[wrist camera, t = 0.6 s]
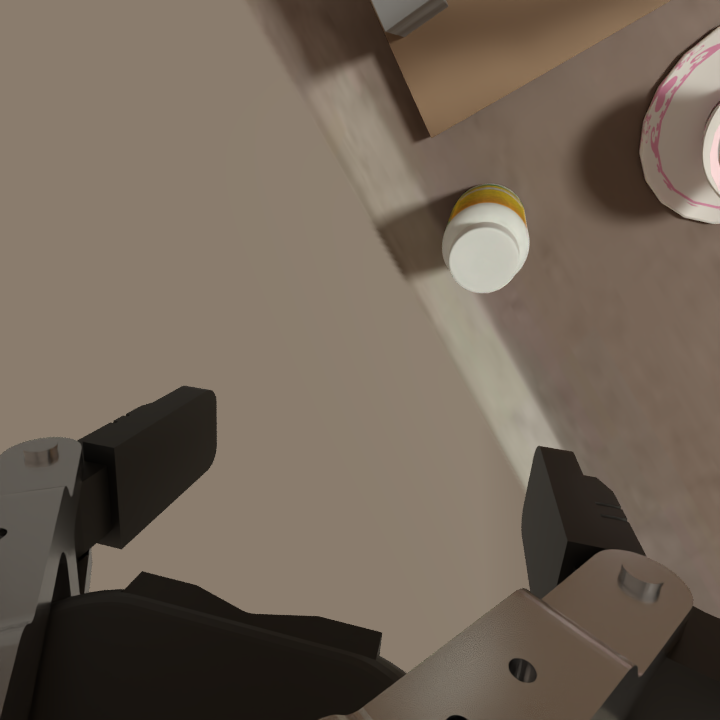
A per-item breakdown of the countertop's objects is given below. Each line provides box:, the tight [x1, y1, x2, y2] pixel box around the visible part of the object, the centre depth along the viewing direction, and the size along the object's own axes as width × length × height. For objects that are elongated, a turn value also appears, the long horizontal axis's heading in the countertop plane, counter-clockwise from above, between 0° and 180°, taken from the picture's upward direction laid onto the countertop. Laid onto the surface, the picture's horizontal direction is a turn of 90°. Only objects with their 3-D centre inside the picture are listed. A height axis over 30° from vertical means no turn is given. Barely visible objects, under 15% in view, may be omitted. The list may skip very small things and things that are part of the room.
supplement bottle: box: [442, 184, 529, 293], centre depth 32 cm, size 5×5×10 cm
